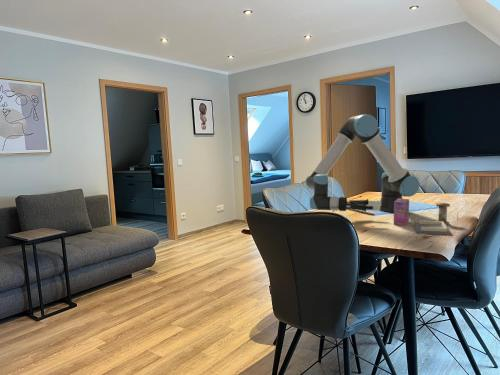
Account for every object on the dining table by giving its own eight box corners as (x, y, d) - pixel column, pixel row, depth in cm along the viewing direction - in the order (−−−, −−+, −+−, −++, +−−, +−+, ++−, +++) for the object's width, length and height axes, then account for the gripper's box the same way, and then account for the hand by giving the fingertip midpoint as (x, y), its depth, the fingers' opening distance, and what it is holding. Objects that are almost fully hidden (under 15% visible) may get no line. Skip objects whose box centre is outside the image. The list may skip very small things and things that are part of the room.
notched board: (416, 233, 166) (416, 227, 166) (414, 225, 182) (414, 219, 181) (451, 235, 161) (451, 229, 161) (446, 226, 177) (446, 221, 176)
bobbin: (436, 224, 181) (436, 204, 180) (435, 222, 187) (435, 202, 186) (449, 225, 179) (450, 205, 178) (448, 222, 185) (449, 203, 183)
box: (405, 225, 181) (406, 202, 180) (393, 224, 184) (393, 201, 183) (408, 221, 190) (409, 199, 189) (397, 220, 193) (397, 198, 192)
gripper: (341, 206, 209) (381, 208, 202) (335, 215, 186) (379, 217, 178) (342, 193, 208) (381, 195, 201) (335, 200, 185) (379, 202, 178)
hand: (380, 205), depth 190 cm, fingers open, 13 cm apart
